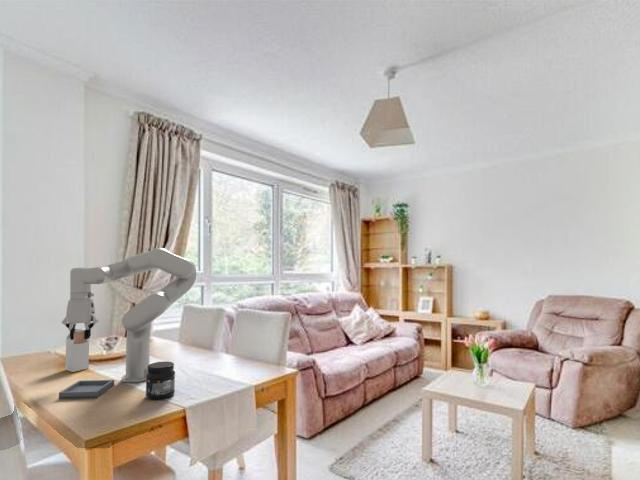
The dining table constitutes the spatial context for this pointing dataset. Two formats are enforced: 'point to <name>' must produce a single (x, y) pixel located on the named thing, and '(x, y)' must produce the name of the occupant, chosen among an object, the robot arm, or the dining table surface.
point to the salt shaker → (79, 336)
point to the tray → (86, 389)
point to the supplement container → (160, 380)
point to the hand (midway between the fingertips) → (80, 338)
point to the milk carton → (76, 355)
